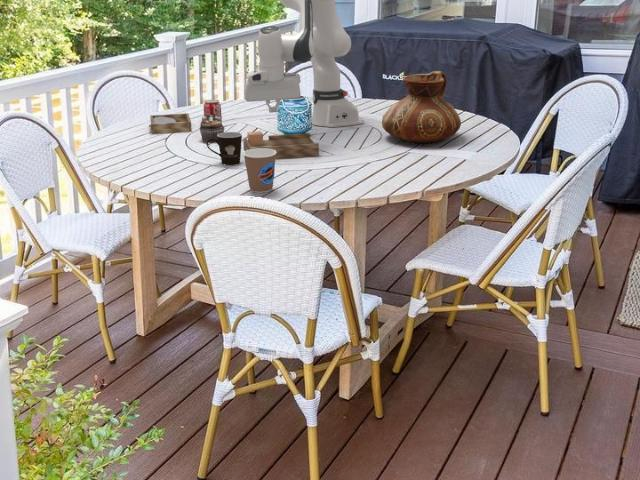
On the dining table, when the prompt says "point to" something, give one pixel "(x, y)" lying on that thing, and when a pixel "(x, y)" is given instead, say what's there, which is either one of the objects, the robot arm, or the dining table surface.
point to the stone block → (163, 120)
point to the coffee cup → (260, 169)
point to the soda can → (212, 108)
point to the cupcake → (211, 127)
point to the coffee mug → (228, 147)
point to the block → (255, 138)
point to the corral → (172, 124)
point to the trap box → (288, 145)
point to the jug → (422, 112)
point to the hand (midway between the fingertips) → (273, 112)
